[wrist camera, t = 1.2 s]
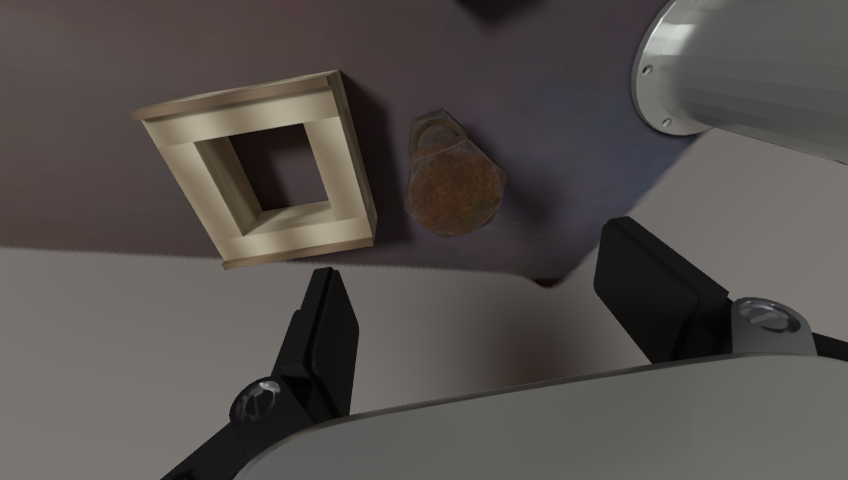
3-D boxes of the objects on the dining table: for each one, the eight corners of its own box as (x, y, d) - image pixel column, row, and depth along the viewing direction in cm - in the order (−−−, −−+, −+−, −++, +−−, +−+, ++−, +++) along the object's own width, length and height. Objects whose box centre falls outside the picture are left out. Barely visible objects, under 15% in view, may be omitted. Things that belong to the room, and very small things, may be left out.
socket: (339, 69, 27) (326, 76, 22) (377, 216, 34) (373, 245, 30) (176, 98, 27) (129, 111, 23) (248, 238, 35) (224, 270, 30)
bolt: (473, 127, 30) (527, 193, 17) (438, 168, 32) (462, 254, 19) (426, 83, 28) (447, 121, 15) (390, 129, 30) (383, 198, 17)
